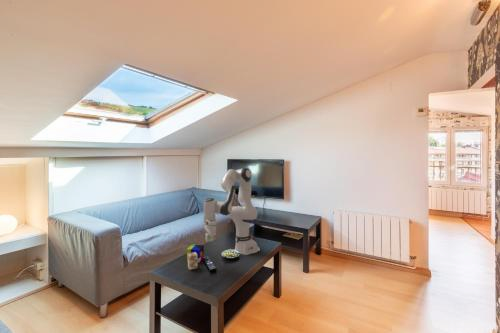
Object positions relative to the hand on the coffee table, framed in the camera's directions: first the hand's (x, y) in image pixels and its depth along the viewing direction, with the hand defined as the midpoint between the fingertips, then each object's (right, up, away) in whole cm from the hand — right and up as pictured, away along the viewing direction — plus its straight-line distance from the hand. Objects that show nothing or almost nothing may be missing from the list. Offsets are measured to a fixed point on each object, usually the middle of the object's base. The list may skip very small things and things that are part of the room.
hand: (209, 238), depth 191 cm
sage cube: (0, -2, 0) cm, 2 cm away
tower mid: (-12, -16, -2) cm, 20 cm away
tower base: (-12, -21, -2) cm, 25 cm away
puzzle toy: (-13, -21, +12) cm, 27 cm away
